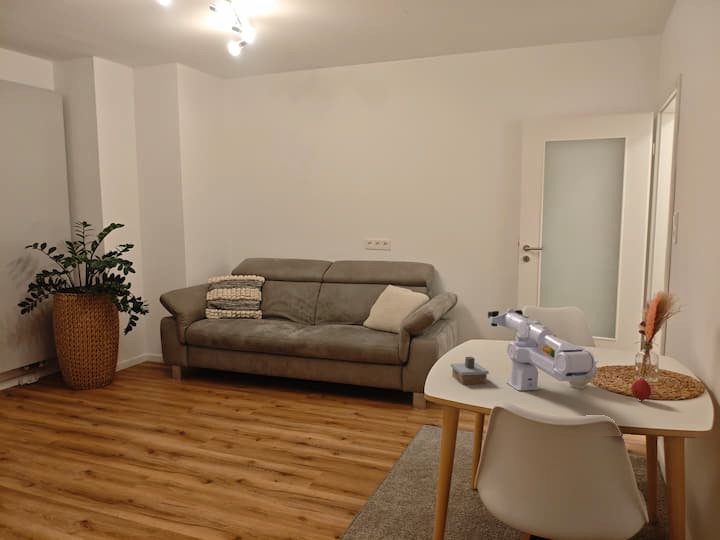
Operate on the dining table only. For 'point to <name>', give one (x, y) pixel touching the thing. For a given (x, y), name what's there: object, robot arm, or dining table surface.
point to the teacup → (583, 378)
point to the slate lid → (469, 367)
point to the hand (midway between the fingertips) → (498, 314)
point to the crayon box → (548, 350)
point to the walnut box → (469, 378)
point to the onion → (641, 389)
